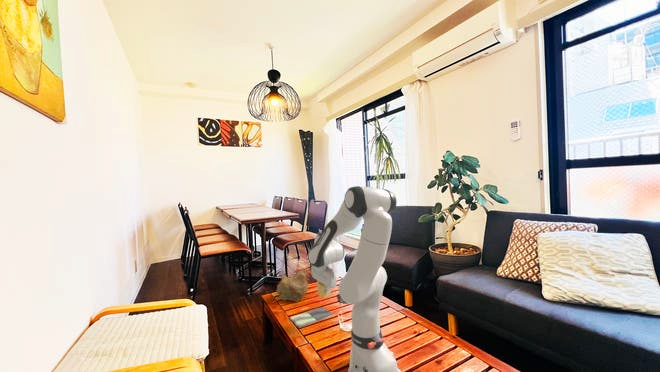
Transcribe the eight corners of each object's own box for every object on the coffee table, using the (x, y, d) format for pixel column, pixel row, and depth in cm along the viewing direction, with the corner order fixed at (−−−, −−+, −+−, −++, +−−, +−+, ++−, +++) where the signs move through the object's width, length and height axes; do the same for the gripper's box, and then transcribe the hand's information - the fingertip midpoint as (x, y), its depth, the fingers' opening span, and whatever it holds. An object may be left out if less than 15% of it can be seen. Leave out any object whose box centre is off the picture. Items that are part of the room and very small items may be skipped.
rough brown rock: (291, 310, 161) (292, 285, 160) (272, 301, 171) (273, 277, 170) (316, 297, 179) (317, 275, 179) (298, 289, 189) (299, 268, 189)
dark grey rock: (331, 297, 175) (344, 306, 162) (330, 291, 175) (344, 299, 162) (354, 290, 185) (368, 298, 172) (354, 284, 185) (368, 292, 172)
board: (333, 315, 150) (333, 314, 150) (299, 328, 139) (299, 326, 139) (322, 307, 160) (322, 306, 160) (289, 318, 149) (289, 317, 149)
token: (330, 295, 140) (330, 284, 140) (322, 297, 138) (322, 286, 137) (325, 292, 144) (325, 281, 144) (317, 294, 142) (317, 283, 142)
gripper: (339, 268, 134) (340, 296, 134) (319, 259, 151) (319, 283, 151) (328, 271, 130) (329, 299, 131) (308, 261, 148) (309, 286, 148)
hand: (324, 290), depth 141 cm, fingers closed on token, 5 cm apart
